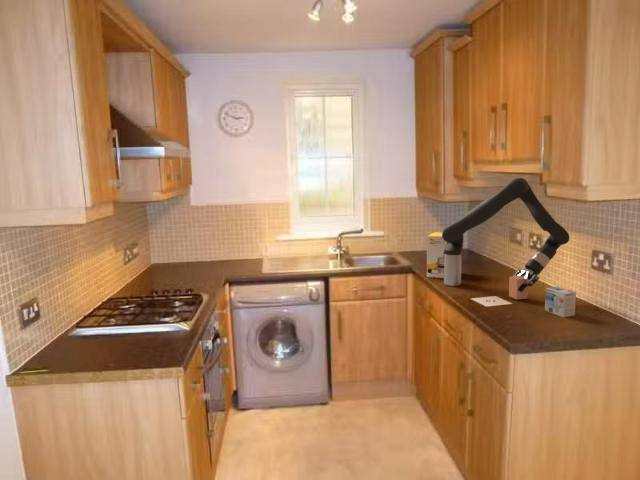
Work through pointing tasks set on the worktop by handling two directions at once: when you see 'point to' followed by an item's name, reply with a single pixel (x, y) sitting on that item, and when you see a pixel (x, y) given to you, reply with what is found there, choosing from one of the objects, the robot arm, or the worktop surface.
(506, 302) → the cream square pad
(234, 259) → the worktop surface
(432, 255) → the packaging box
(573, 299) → the light bulb box
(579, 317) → the worktop surface
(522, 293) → the terracotta block
